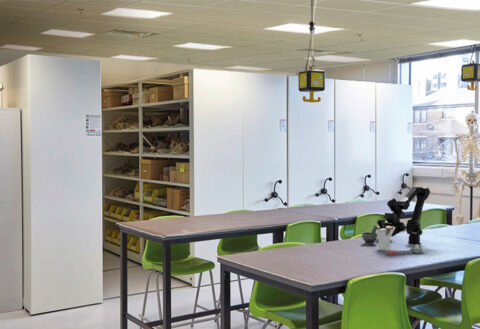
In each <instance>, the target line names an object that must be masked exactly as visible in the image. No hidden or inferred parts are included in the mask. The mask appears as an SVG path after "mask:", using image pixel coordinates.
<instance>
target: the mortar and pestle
mask: <svg viewBox="0 0 480 329" xmlns="http://www.w3.org/2000/svg"><path fill="white" fill-rule="evenodd" d="M377 226H378V225H373V227H372V229H371V231H369V232H362V233H361V237H362V240H363V241H364V245H368V244H369V245H370V246H371V245H375V241H376V240H377V239H378V238H377V233H375V232H376V230H377V228H378V227H377Z"/></svg>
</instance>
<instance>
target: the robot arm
mask: <svg viewBox="0 0 480 329" xmlns="http://www.w3.org/2000/svg"><path fill="white" fill-rule="evenodd" d="M430 194H431V190H430V188H429V187H421V186H418V185H414V186H411V189H410V190H409V191H408V192H407V194H405V195H404V196H403V197H402V198H400V199H398V200H397V199H396V198H392V199H390V200H389V201H387V203H386V204H387V207H388V208H389V210H390V211H391V212H392V213H391V212H390V213H389V212H385V213H384V215H383V218H384V219H385V220H384V219H377V221H376V224H377V226H378V225H379V227H380V229H385V228H386V227H387V226H391V227H393V233H392V235H391V236H392V237H395V236H396V235H397V234H398V235H399V234H400V233H402V232H405V231H406V234H407V235H408V242H407V244H409V245H422V242H421V236H422V235H423V230H422V228H421V224H420V219H421V215H422V211H423V208H424V205H425V204H424V203H425V201H426V200H428V198H429V196H430ZM415 197H416V202H415V205H414V209H413V211H412V216H411V218H410V219H407V222H406V224H405V223H404V222H402V221H401V218H402V216H405V212H404V211H407V210H408V209H409V207H410V204H411V202H412V201H413V199H415ZM403 210H404V211H403ZM392 237H391V238H392Z"/></svg>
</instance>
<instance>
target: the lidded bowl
mask: <svg viewBox="0 0 480 329" xmlns="http://www.w3.org/2000/svg"><path fill="white" fill-rule="evenodd" d="M376 226H377V227H378V228H377V230H376V232H375V233H377V239H378V241H379V229H380V227H379V225H378V224H377V225H376ZM385 229H390V239H391V238H392V236H391V235H392V233H393V231H394V227H391V226H387V227H386V228H385Z"/></svg>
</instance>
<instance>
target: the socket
mask: <svg viewBox="0 0 480 329" xmlns="http://www.w3.org/2000/svg"><path fill="white" fill-rule="evenodd" d="M378 250H379V251H385V252H387V251H389V250H391V238H390V229H379V240H378Z"/></svg>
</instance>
